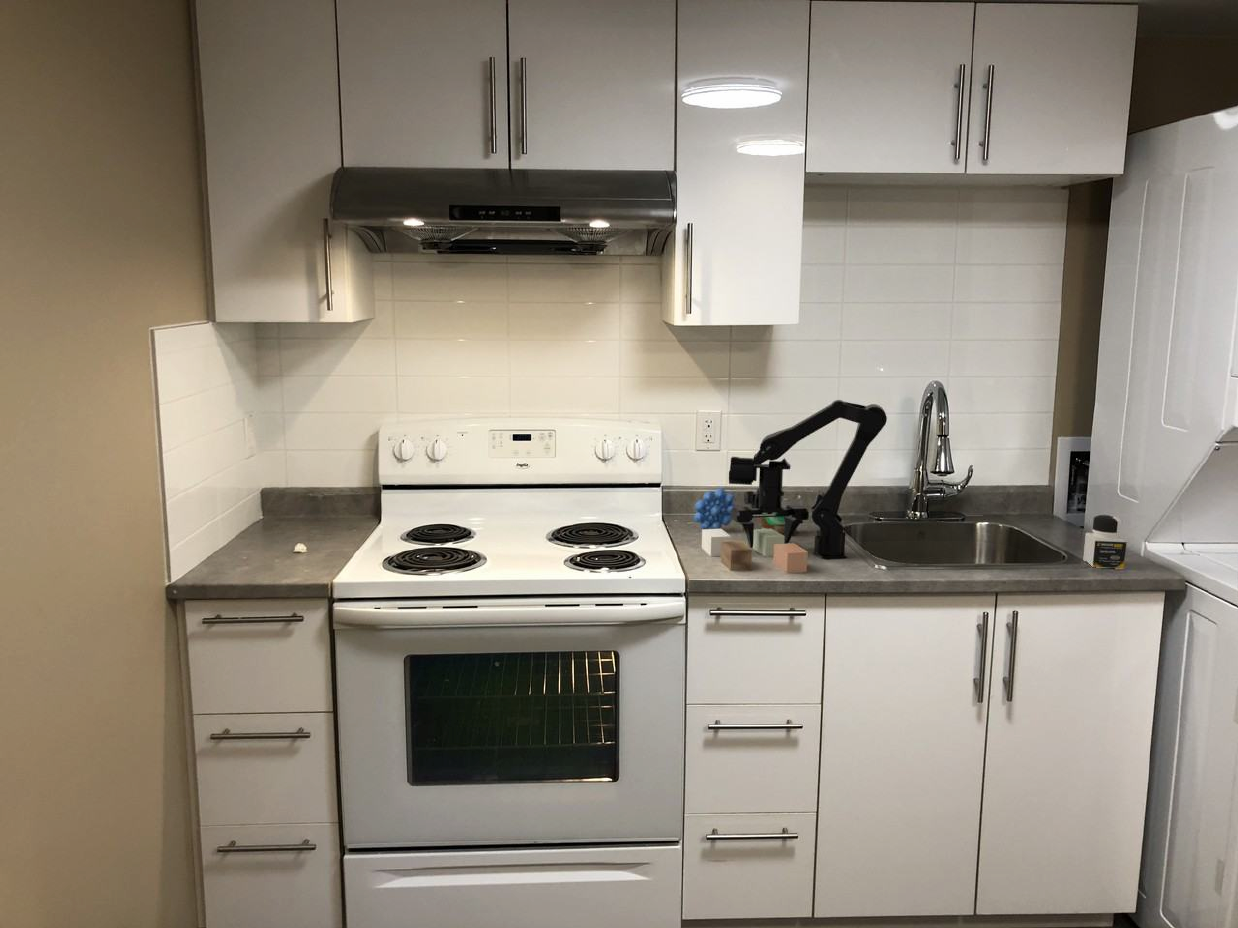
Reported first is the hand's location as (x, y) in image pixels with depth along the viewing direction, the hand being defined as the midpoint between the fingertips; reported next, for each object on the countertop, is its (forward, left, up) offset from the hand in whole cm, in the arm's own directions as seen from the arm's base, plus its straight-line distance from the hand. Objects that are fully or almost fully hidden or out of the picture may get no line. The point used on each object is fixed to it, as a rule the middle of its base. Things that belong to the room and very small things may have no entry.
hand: (768, 546), depth 246 cm
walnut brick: (+12, +11, -1) cm, 16 cm away
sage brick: (0, 0, -1) cm, 1 cm away
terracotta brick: (0, +15, -1) cm, 15 cm away
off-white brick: (+13, -2, -1) cm, 13 cm away
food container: (-10, -16, -1) cm, 19 cm away
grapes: (+7, -23, -1) cm, 24 cm away
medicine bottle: (-76, +25, -1) cm, 80 cm away
